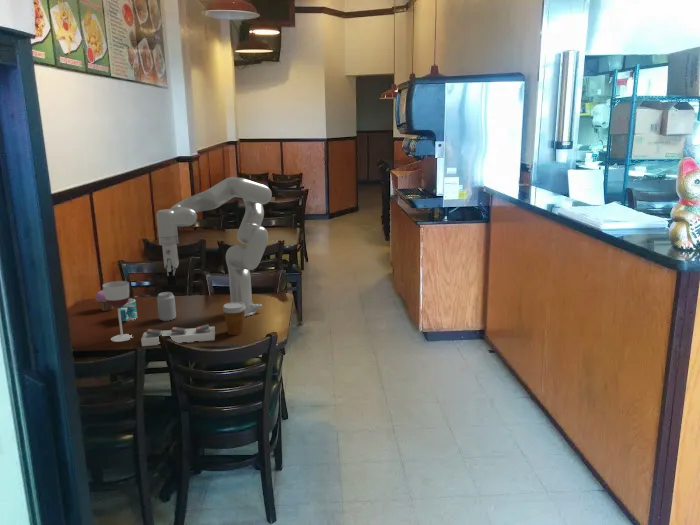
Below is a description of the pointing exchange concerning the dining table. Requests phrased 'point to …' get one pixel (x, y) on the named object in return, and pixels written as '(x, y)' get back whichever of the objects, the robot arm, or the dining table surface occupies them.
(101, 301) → the cupcake
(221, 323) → the dining table surface
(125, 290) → the wineglass
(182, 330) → the rocker middle
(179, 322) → the dining table surface
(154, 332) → the rocker
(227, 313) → the disposable coffee cup
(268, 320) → the dining table surface
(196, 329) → the rocker
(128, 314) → the mug
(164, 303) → the can
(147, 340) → the power strip
